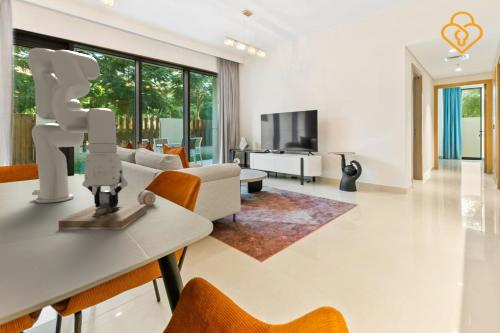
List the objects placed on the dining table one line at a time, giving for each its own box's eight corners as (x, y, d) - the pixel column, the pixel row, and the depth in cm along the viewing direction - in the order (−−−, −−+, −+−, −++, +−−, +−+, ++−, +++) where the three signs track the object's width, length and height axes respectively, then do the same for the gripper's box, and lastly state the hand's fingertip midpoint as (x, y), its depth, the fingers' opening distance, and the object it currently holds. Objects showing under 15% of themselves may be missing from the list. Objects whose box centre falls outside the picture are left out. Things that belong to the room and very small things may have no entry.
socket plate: (58, 229, 73) (58, 220, 73) (96, 211, 91) (95, 204, 91) (122, 229, 73) (121, 220, 73) (146, 211, 91) (146, 204, 91)
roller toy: (136, 206, 99) (135, 191, 98) (152, 203, 103) (151, 188, 102) (141, 208, 96) (140, 193, 95) (157, 205, 100) (156, 190, 99)
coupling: (108, 206, 86) (107, 188, 86) (120, 206, 86) (119, 188, 86) (92, 214, 77) (90, 194, 77) (105, 214, 77) (104, 194, 77)
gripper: (67, 149, 76) (72, 209, 78) (124, 149, 76) (127, 209, 78) (84, 148, 83) (87, 203, 85) (135, 148, 83) (138, 203, 85)
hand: (106, 205), depth 82 cm, fingers closed on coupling, 4 cm apart
